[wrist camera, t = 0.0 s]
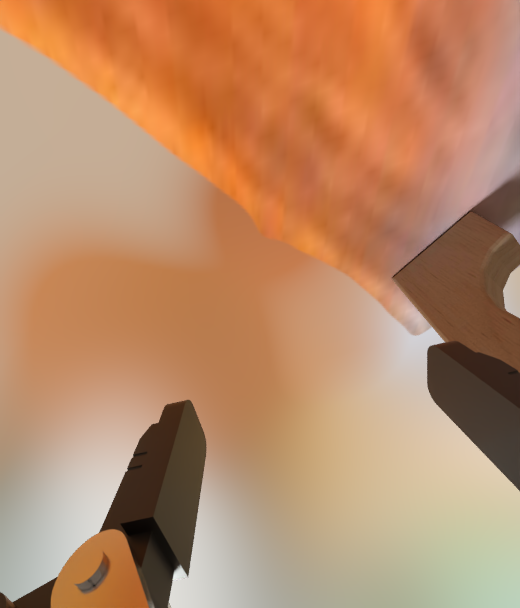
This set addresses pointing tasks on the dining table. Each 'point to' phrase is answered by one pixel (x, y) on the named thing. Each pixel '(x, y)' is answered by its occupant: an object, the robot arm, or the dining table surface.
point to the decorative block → (468, 287)
